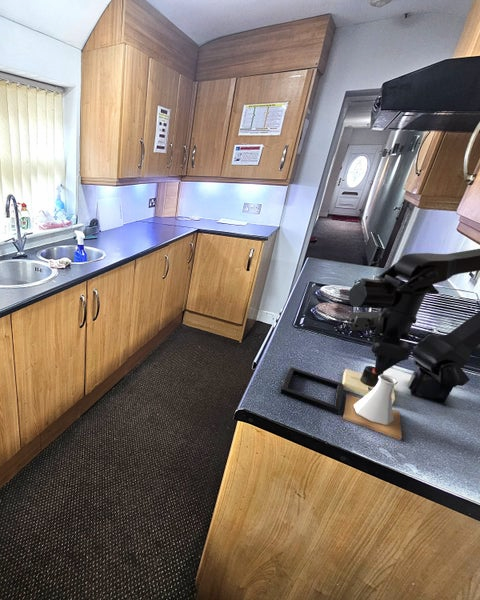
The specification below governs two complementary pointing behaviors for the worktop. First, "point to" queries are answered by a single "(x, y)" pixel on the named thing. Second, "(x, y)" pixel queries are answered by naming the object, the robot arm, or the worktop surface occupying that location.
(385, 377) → the flask
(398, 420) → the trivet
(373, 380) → the knob
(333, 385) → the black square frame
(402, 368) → the worktop surface
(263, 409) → the worktop surface
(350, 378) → the cream flat block
